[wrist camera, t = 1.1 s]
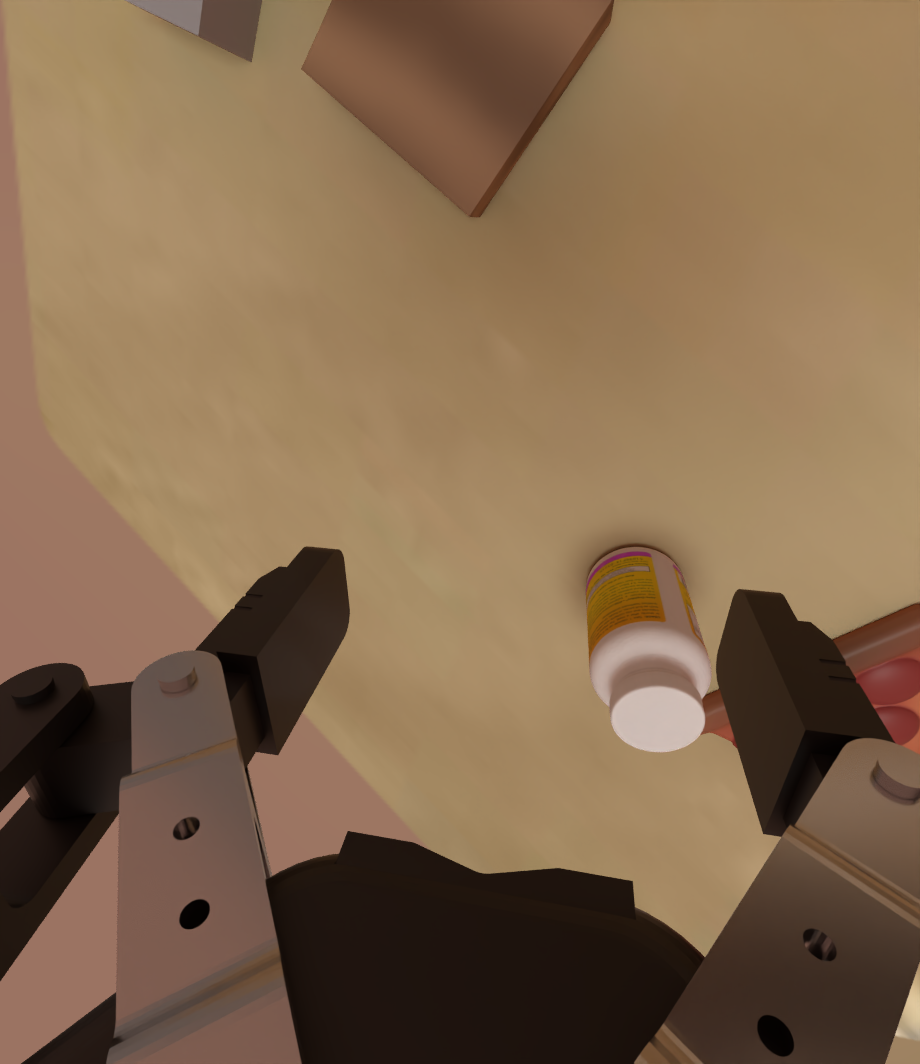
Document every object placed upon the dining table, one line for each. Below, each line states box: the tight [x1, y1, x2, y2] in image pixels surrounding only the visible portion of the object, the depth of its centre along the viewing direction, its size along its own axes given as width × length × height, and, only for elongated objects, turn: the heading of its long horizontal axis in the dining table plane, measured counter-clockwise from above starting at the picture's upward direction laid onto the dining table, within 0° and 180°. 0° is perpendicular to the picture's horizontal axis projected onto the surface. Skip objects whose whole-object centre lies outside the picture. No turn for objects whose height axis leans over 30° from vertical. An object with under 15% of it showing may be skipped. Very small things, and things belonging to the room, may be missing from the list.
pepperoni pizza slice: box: [700, 604, 920, 754], centre depth 44 cm, size 18×2×20 cm
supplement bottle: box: [586, 547, 711, 752], centre depth 35 cm, size 7×7×13 cm
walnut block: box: [301, 0, 614, 217], centre depth 27 cm, size 10×10×4 cm
